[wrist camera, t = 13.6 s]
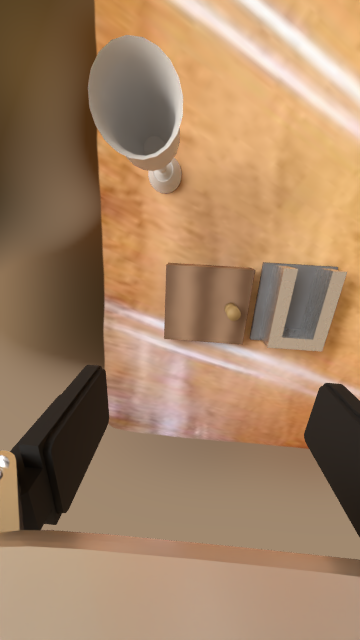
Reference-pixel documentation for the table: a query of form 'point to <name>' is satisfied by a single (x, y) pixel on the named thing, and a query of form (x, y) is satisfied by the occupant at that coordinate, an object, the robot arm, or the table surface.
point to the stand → (207, 302)
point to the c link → (316, 312)
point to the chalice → (139, 106)
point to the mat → (297, 299)
